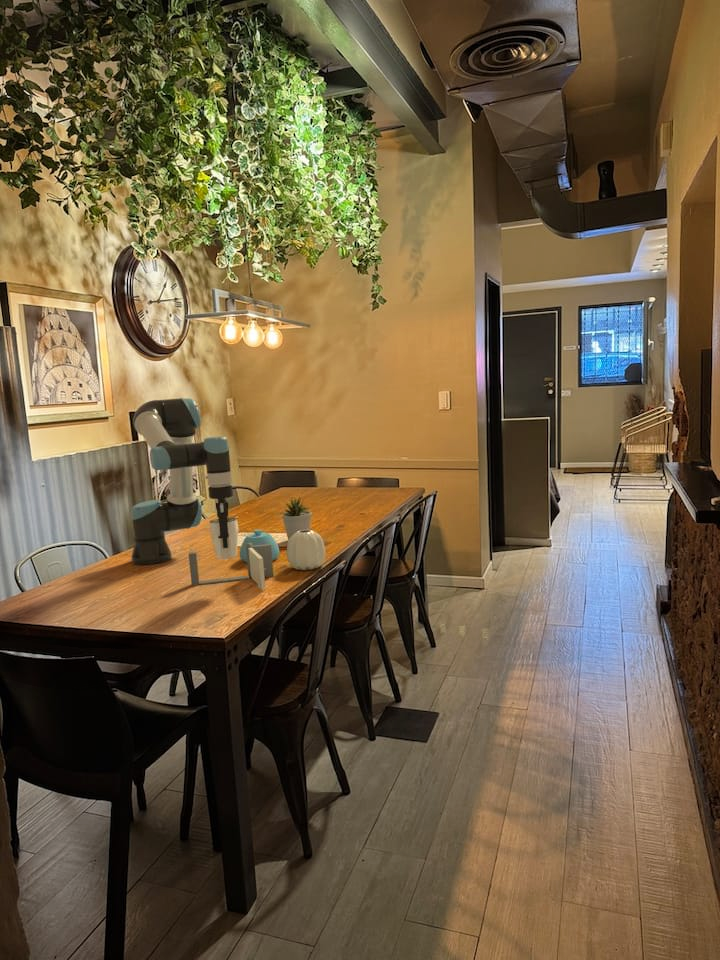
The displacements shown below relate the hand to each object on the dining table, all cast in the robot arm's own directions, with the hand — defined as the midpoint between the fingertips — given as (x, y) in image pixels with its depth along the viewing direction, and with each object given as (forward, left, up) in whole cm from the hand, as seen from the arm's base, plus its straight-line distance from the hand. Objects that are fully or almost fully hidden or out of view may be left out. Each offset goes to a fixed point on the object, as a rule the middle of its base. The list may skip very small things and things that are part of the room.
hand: (226, 553), depth 209 cm
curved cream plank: (-2, +10, -11) cm, 15 cm away
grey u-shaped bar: (-11, +1, -12) cm, 16 cm away
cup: (0, 0, -1) cm, 1 cm away
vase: (-16, +27, -12) cm, 34 cm away
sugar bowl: (-35, +11, -12) cm, 39 cm away
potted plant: (-60, +28, -12) cm, 68 cm away
